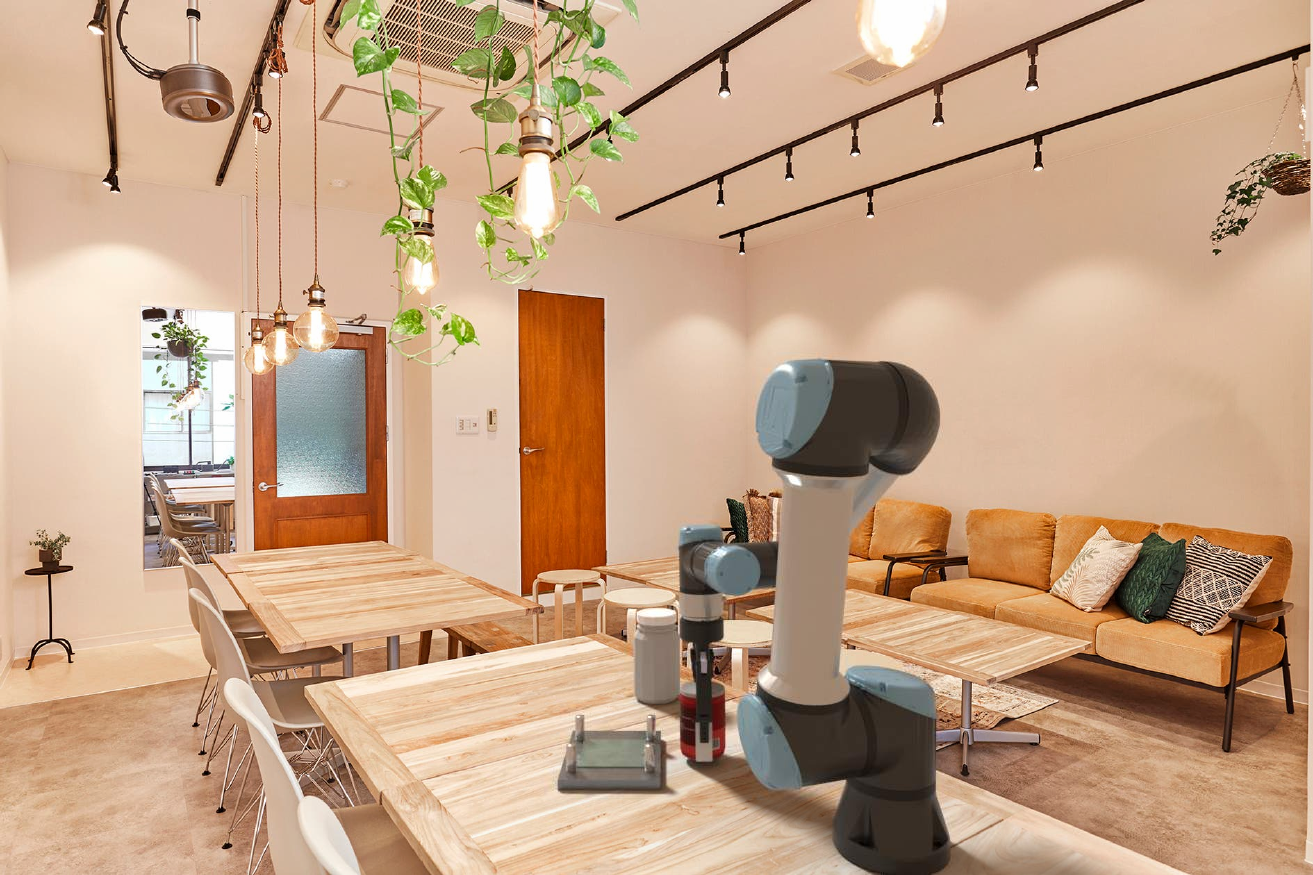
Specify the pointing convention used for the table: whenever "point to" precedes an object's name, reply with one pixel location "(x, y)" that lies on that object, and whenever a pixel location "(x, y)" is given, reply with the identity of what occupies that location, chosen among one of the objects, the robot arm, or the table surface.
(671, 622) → the jar
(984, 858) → the table surface
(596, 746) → the plate
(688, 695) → the canned food
